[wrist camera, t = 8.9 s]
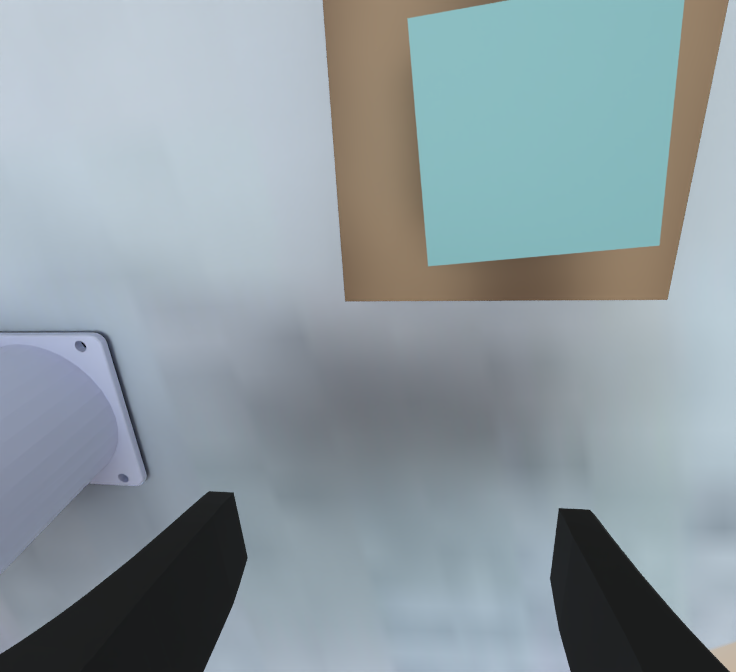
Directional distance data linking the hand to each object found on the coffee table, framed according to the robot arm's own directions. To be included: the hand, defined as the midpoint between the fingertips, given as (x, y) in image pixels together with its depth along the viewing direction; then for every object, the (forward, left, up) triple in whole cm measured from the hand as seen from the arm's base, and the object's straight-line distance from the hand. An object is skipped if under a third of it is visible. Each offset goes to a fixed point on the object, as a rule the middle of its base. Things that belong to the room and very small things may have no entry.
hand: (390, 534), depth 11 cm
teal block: (+3, +8, -7) cm, 11 cm away
